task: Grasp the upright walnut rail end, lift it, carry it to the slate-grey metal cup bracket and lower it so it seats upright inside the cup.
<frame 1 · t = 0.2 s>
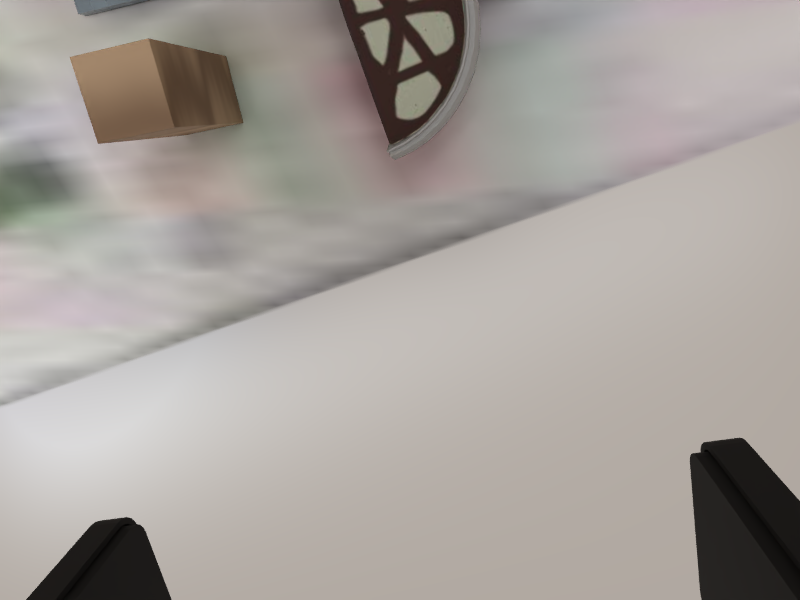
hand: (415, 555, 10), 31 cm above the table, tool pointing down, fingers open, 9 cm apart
food container: (420, 31, 36), on the table
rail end: (204, 96, 38), on the table
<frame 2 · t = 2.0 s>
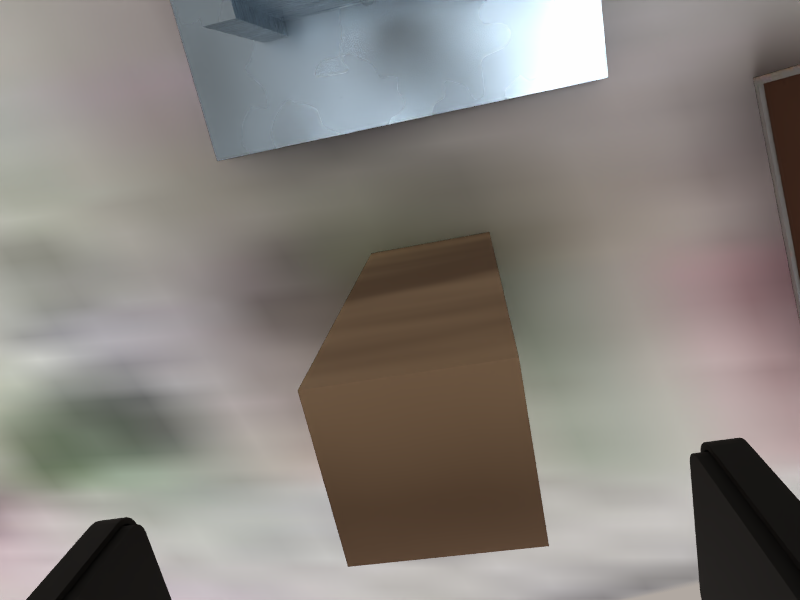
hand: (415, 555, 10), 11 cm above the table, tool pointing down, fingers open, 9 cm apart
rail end: (440, 298, 21), on the table
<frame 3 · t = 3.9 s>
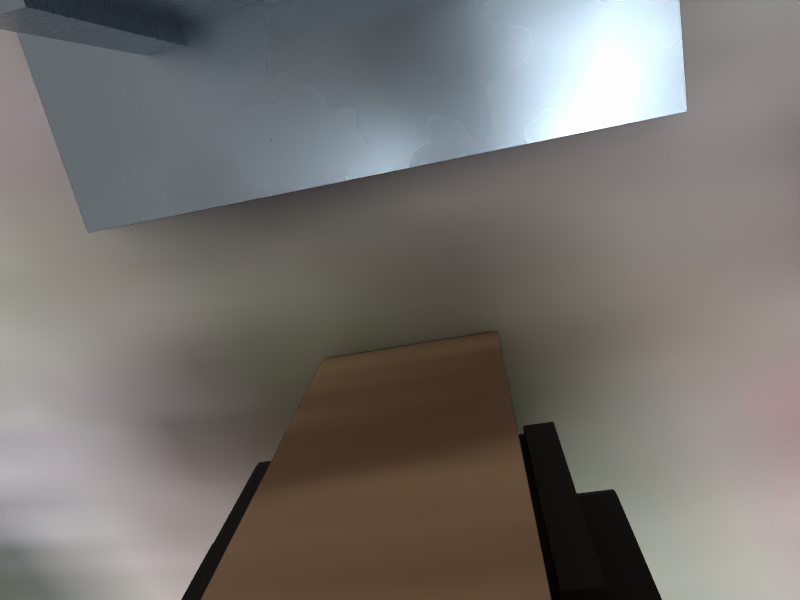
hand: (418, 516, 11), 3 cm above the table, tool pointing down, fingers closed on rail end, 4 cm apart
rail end: (425, 423, 14), on the table, touching gripper
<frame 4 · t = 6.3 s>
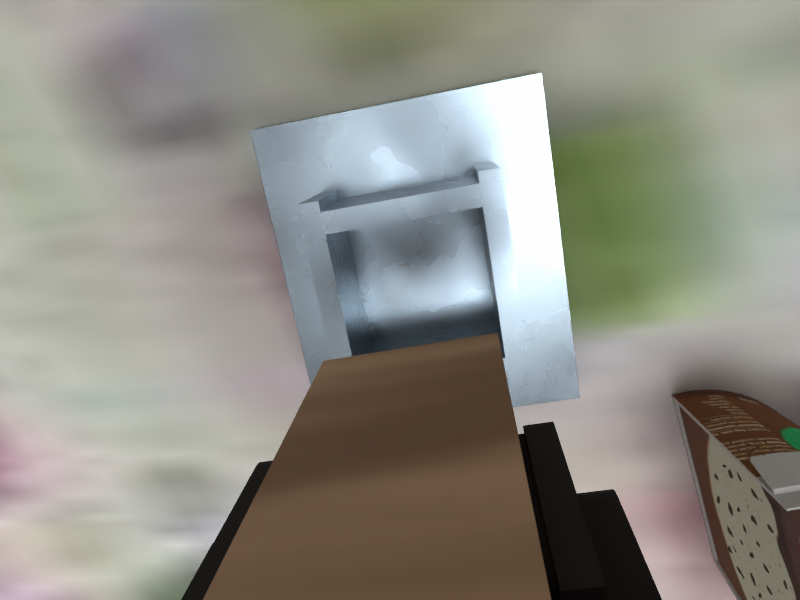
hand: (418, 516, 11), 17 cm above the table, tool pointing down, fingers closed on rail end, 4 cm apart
food container: (758, 462, 28), on the table
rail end: (425, 425, 14), point 13 cm above the table, touching gripper
cup bracket: (422, 265, 27), on the table
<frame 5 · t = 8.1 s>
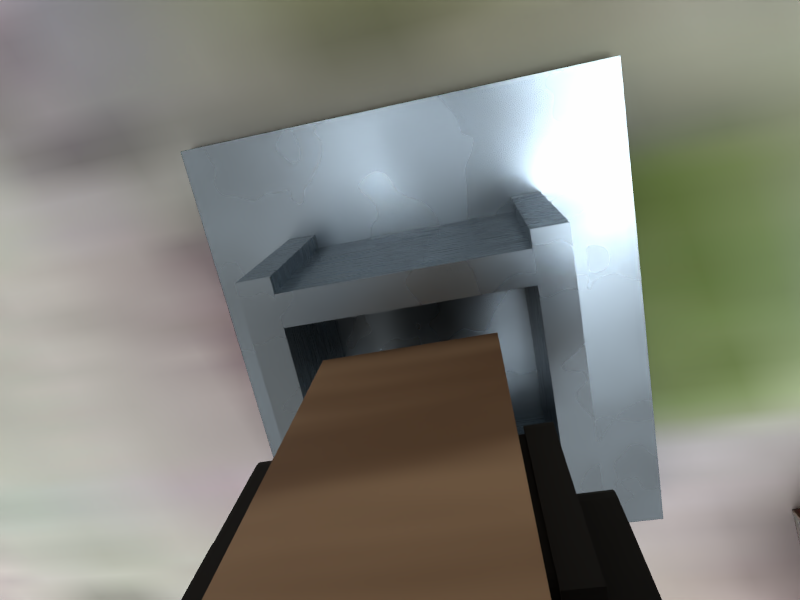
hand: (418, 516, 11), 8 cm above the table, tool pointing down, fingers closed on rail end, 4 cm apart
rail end: (425, 424, 14), point 5 cm above the table, touching gripper
cup bracket: (437, 336, 19), on the table
when the fingers open (7 cm above the table, at t = 9.2 s): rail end drops 2 cm, resting on cup bracket.
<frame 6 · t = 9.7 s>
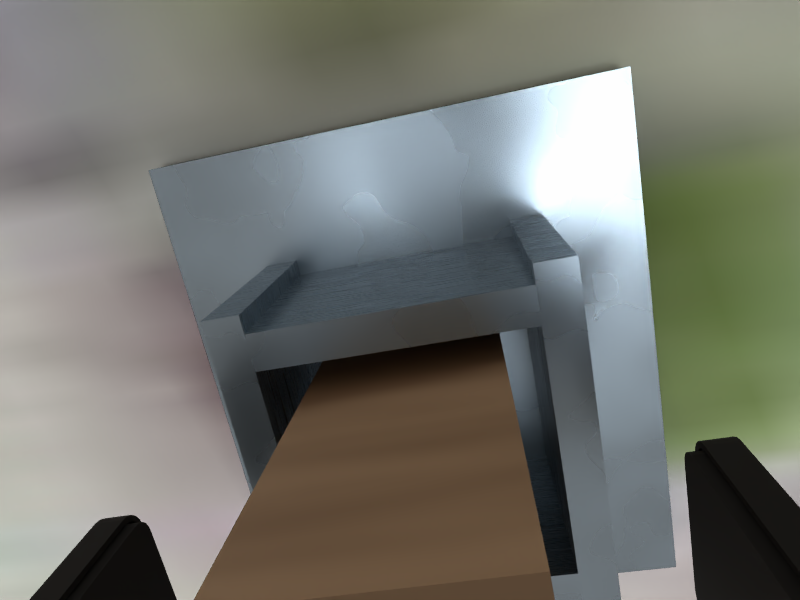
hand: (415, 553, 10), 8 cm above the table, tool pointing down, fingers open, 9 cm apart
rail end: (431, 377, 16), point 1 cm above the table, touching cup bracket
cup bracket: (430, 369, 17), on the table
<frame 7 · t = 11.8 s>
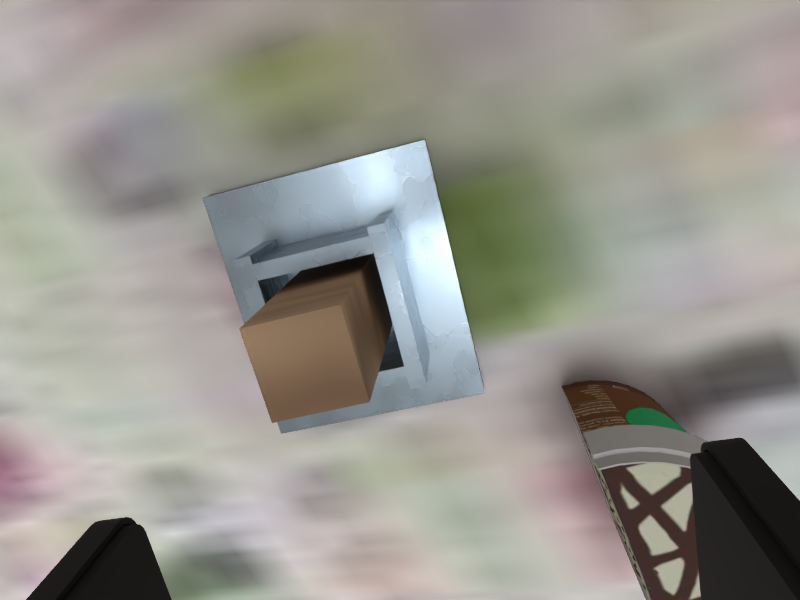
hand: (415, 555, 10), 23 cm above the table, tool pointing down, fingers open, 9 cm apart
food container: (639, 437, 34), on the table
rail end: (347, 295, 32), point 1 cm above the table, touching cup bracket
cup bracket: (349, 294, 33), on the table
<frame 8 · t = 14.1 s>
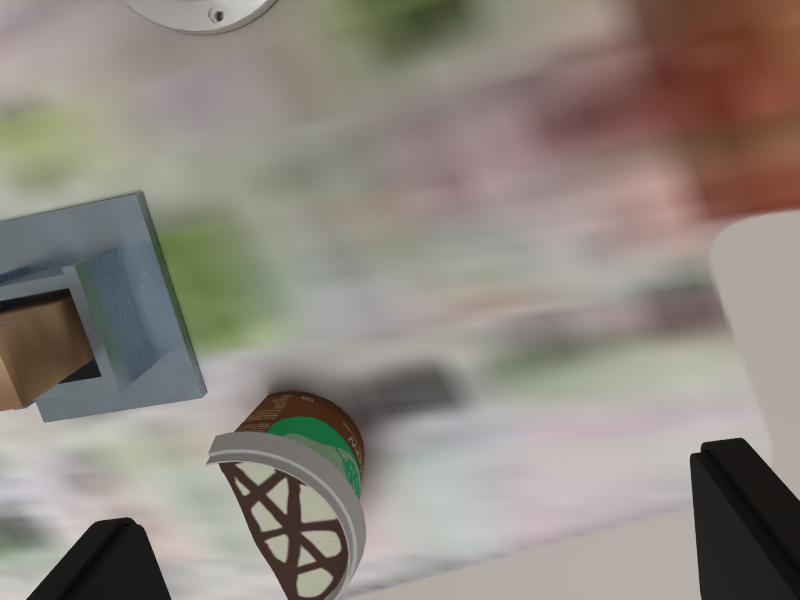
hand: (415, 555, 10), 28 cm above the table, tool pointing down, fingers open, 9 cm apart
food container: (335, 438, 42), on the table
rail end: (87, 314, 40), point 1 cm above the table, touching cup bracket
cup bracket: (93, 312, 41), on the table
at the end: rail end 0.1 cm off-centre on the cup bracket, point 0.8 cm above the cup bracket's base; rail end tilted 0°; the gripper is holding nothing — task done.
